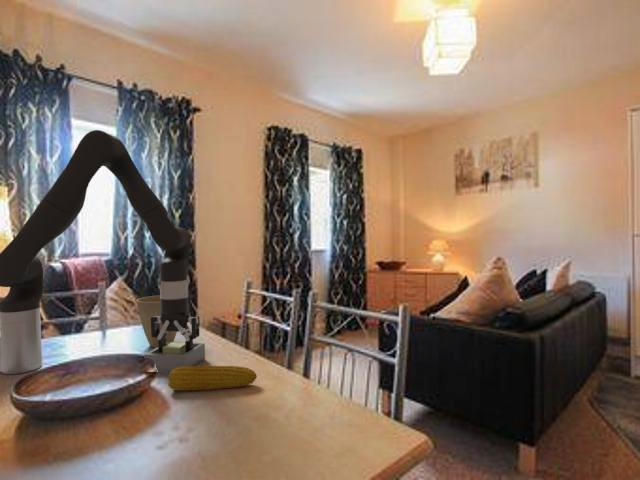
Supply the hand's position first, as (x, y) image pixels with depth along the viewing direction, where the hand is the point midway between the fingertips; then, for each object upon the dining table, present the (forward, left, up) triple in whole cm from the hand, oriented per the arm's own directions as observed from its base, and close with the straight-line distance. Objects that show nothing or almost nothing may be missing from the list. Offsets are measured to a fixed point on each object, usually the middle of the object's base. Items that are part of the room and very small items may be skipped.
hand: (175, 352), depth 114 cm
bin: (0, 0, -4) cm, 4 cm away
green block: (0, 0, -3) cm, 3 cm away
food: (+17, -13, -4) cm, 22 cm away
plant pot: (-16, +19, -4) cm, 25 cm away
